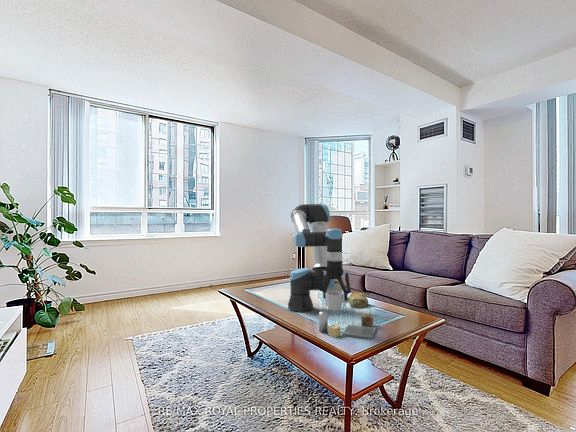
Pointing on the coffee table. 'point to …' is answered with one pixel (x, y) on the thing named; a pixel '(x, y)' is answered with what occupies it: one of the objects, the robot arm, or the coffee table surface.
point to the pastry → (358, 300)
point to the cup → (334, 300)
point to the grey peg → (323, 322)
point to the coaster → (359, 332)
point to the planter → (336, 287)
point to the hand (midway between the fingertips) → (335, 306)
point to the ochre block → (334, 331)
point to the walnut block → (367, 320)
